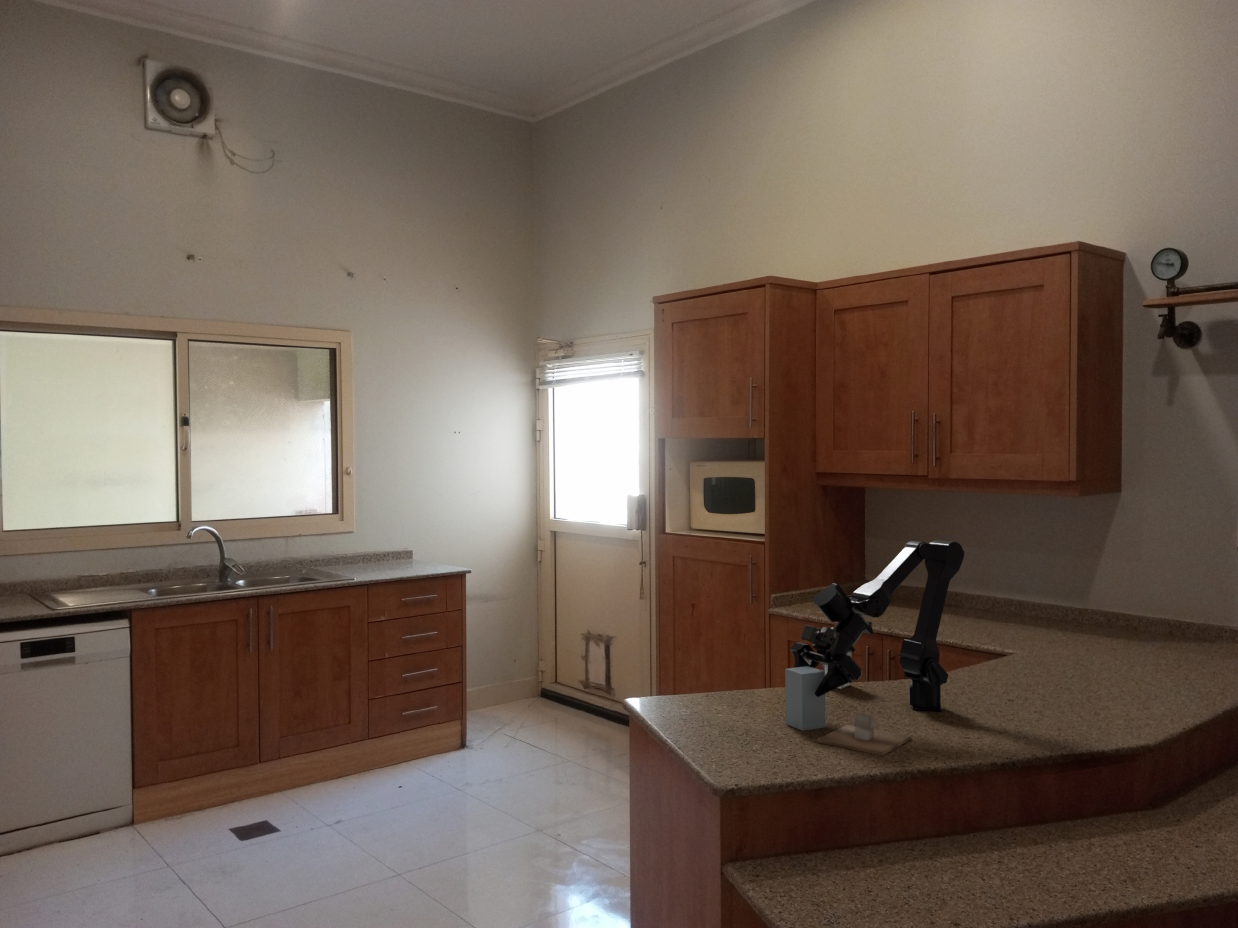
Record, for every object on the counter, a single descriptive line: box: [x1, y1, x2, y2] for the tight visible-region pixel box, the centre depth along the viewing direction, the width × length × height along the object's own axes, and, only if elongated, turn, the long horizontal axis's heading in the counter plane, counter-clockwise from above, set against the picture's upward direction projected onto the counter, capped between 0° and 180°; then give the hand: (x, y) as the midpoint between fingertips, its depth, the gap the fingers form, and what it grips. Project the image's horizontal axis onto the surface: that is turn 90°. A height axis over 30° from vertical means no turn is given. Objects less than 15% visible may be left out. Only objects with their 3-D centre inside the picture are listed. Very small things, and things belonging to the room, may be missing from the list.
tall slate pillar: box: [784, 666, 826, 732], centre depth 200 cm, size 6×6×12 cm
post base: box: [816, 713, 912, 756], centre depth 189 cm, size 14×14×5 cm
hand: (803, 690), depth 200 cm, fingers open, 9 cm apart
